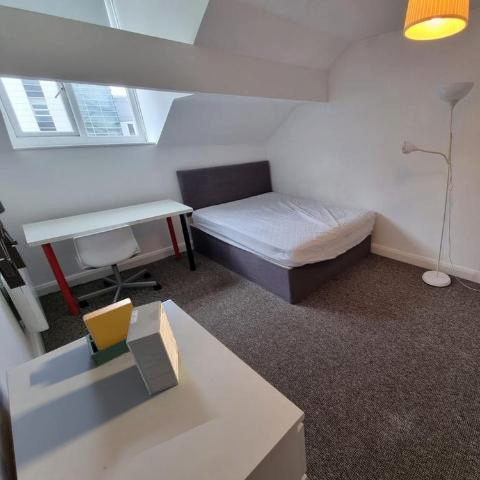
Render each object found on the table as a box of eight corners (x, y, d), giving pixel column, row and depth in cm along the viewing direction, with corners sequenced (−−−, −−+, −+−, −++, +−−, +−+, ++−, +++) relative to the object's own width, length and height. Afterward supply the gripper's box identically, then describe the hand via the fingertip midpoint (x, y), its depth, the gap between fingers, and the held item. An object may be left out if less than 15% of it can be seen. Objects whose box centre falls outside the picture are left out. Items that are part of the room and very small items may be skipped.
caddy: (91, 346, 92) (85, 335, 90) (144, 322, 102) (140, 312, 100) (96, 367, 84) (91, 356, 82) (154, 338, 94) (150, 328, 92)
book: (100, 352, 88) (82, 315, 82) (142, 332, 96) (128, 297, 90) (102, 357, 86) (83, 321, 80) (145, 337, 94) (131, 302, 88)
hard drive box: (152, 357, 87) (132, 307, 78) (178, 348, 90) (161, 299, 82) (149, 396, 74) (125, 342, 66) (179, 384, 77) (160, 331, 69)
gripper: (-7, 205, 57) (39, 288, 66) (1, 189, 73) (37, 257, 82) (-64, 214, 52) (-6, 303, 61) (-42, 194, 69) (1, 266, 77)
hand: (19, 277), depth 71 cm, fingers open, 13 cm apart
